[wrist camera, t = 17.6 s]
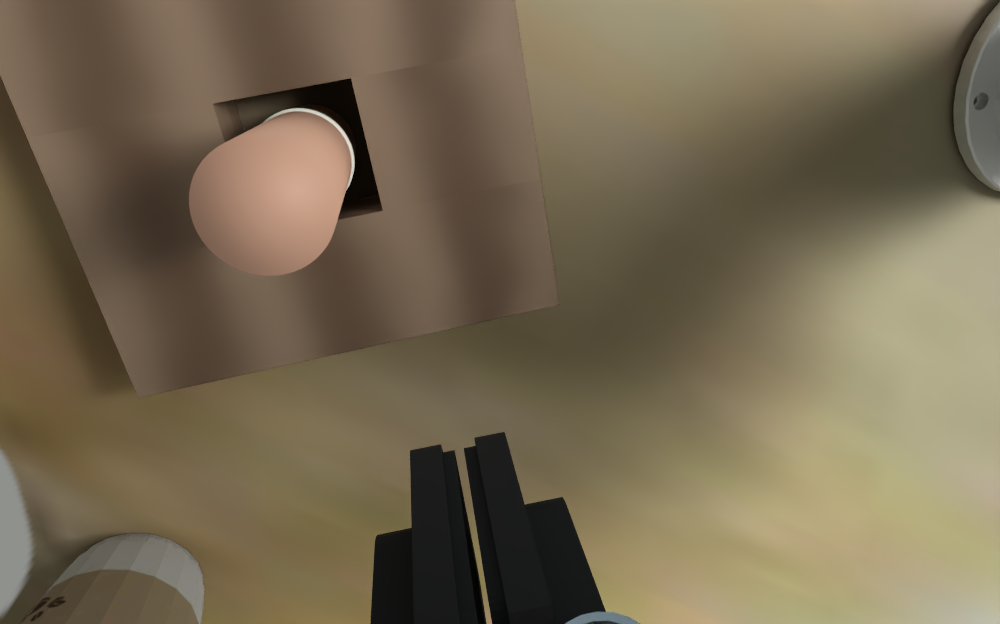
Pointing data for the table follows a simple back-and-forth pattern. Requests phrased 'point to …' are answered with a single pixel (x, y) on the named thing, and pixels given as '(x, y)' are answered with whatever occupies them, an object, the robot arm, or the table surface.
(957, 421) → the table surface
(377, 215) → the board
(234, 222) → the peg
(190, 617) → the coffee cup
